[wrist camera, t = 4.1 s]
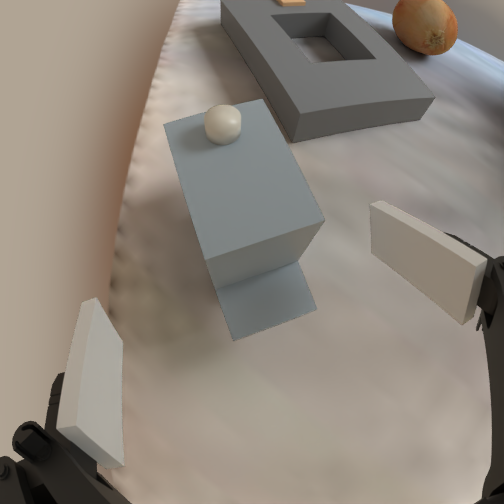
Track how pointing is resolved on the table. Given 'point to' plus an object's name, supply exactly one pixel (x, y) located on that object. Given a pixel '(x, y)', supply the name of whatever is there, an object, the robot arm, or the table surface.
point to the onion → (425, 25)
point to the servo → (247, 212)
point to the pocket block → (323, 67)
